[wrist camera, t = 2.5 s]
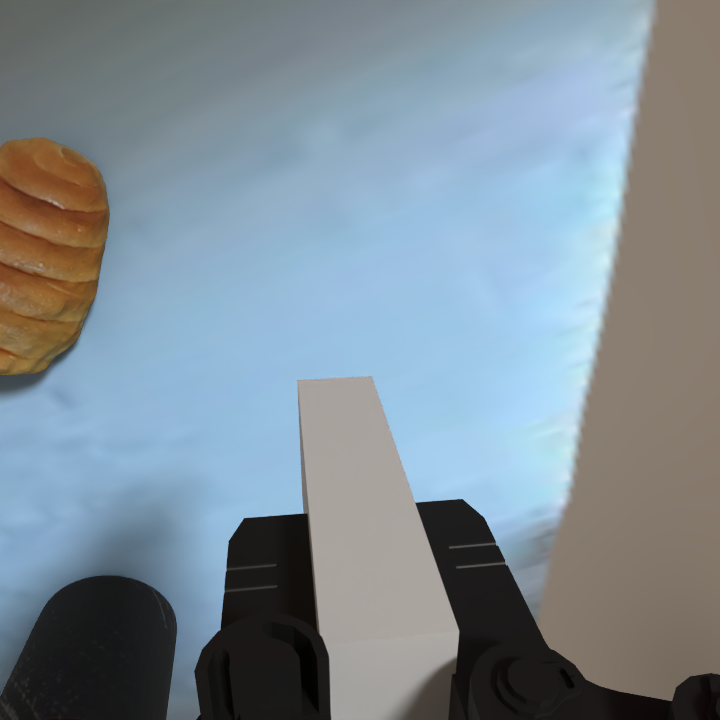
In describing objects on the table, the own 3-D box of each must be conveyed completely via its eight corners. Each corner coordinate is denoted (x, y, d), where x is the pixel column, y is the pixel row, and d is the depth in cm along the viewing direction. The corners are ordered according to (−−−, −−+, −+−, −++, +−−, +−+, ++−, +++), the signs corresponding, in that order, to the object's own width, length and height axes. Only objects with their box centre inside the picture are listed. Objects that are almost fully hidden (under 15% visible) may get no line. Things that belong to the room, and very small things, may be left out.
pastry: (-7, 95, 24) (-53, 97, 20) (158, 194, 26) (141, 210, 23) (-98, 297, 26) (-153, 330, 23) (60, 372, 29) (32, 412, 25)
